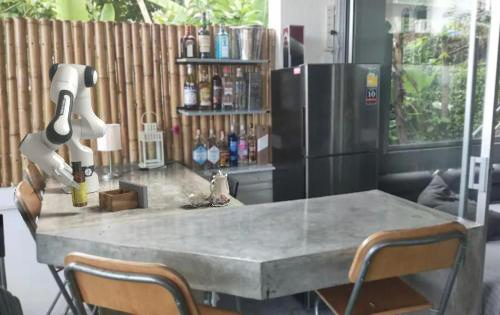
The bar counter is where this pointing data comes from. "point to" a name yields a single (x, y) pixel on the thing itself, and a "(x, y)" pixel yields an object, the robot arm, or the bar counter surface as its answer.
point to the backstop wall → (140, 191)
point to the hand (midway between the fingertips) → (80, 186)
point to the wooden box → (118, 199)
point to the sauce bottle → (79, 195)
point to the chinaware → (214, 192)
